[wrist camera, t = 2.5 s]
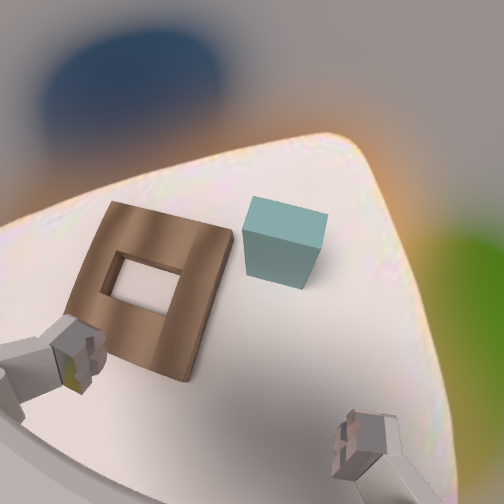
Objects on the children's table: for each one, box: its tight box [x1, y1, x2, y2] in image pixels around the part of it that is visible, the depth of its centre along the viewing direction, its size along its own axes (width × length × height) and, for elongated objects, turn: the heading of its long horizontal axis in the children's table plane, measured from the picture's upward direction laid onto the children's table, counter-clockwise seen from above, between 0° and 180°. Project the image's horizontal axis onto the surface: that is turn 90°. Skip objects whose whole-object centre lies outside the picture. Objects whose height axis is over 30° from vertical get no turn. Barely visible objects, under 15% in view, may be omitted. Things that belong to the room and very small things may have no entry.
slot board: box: [63, 201, 234, 382], centre depth 33 cm, size 15×16×2 cm
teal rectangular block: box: [242, 196, 328, 289], centre depth 29 cm, size 6×3×11 cm, turn 74°
